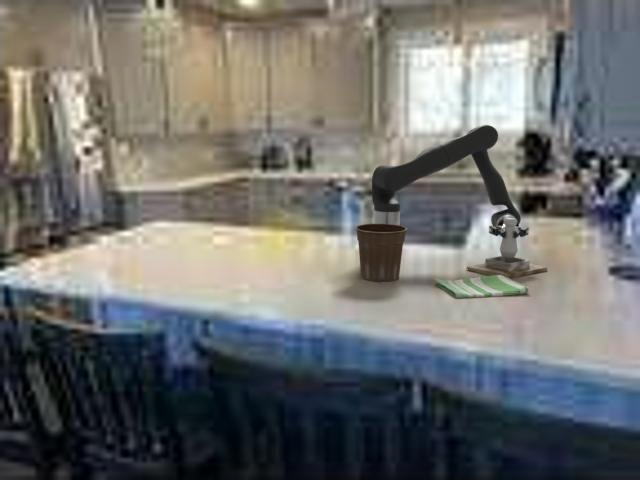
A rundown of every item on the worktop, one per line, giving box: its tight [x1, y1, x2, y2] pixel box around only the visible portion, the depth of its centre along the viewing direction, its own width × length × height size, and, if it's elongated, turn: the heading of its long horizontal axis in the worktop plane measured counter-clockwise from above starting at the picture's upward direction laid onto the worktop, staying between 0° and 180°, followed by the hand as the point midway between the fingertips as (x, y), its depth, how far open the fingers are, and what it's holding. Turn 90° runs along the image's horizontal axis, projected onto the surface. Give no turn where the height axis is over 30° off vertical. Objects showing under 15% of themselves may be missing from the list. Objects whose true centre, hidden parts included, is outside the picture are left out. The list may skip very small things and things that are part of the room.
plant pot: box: [354, 223, 408, 283], centre depth 222 cm, size 16×16×16 cm
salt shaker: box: [499, 218, 519, 258], centre depth 235 cm, size 6×6×13 cm
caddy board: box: [466, 255, 548, 279], centre depth 236 cm, size 22×16×4 cm
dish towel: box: [433, 275, 530, 299], centre depth 210 cm, size 18×23×3 cm
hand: (510, 235), depth 232 cm, fingers closed on salt shaker, 3 cm apart
